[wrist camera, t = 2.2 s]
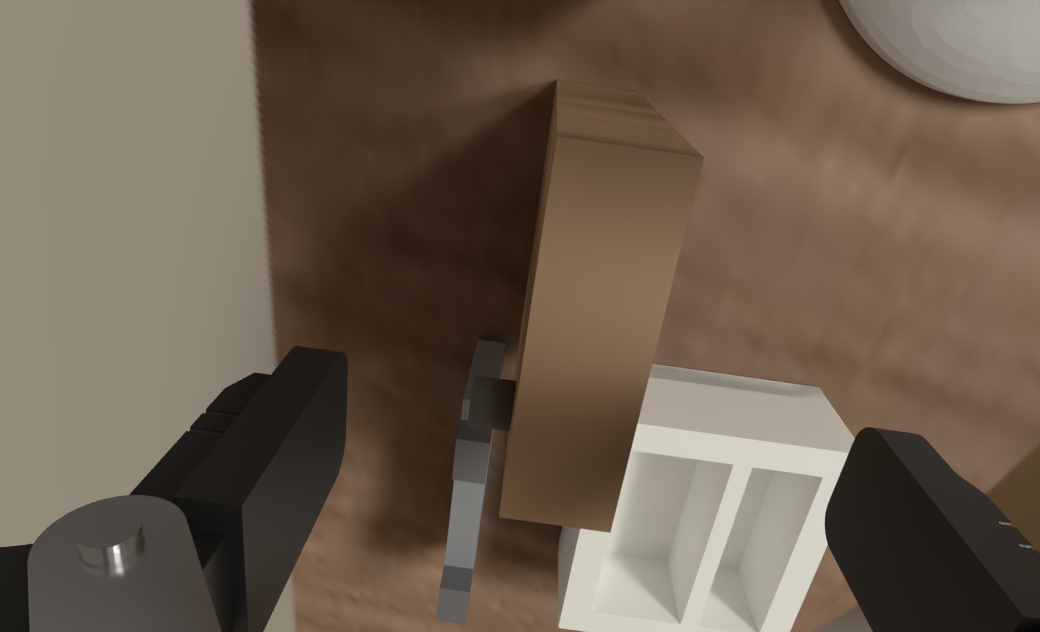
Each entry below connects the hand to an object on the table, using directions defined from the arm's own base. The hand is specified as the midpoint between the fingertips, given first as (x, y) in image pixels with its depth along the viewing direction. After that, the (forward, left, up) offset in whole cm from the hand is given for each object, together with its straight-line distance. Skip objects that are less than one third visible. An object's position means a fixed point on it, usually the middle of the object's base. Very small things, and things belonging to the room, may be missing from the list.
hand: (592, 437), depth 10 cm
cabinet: (+9, +3, -12) cm, 16 cm away
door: (0, 0, -12) cm, 12 cm away
